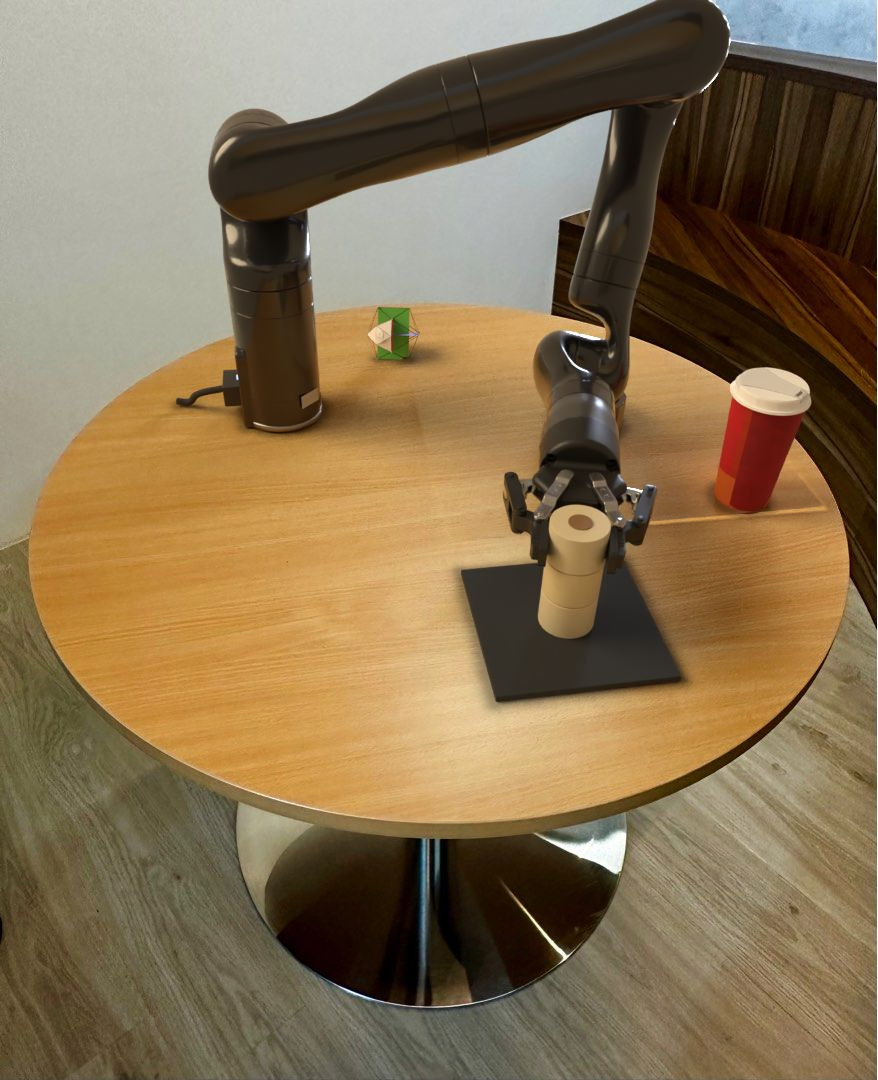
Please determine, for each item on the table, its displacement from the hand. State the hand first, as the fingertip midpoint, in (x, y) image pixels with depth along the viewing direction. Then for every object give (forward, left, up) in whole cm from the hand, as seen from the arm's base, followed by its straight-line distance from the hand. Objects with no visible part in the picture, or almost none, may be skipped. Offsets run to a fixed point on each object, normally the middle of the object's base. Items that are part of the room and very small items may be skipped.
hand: (577, 561), depth 72 cm
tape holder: (+13, +35, -10) cm, 39 cm away
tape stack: (+1, +2, -9) cm, 9 cm away
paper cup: (+25, +18, -10) cm, 32 cm away
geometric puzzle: (-8, +55, -10) cm, 57 cm away
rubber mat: (+1, +2, -10) cm, 10 cm away
